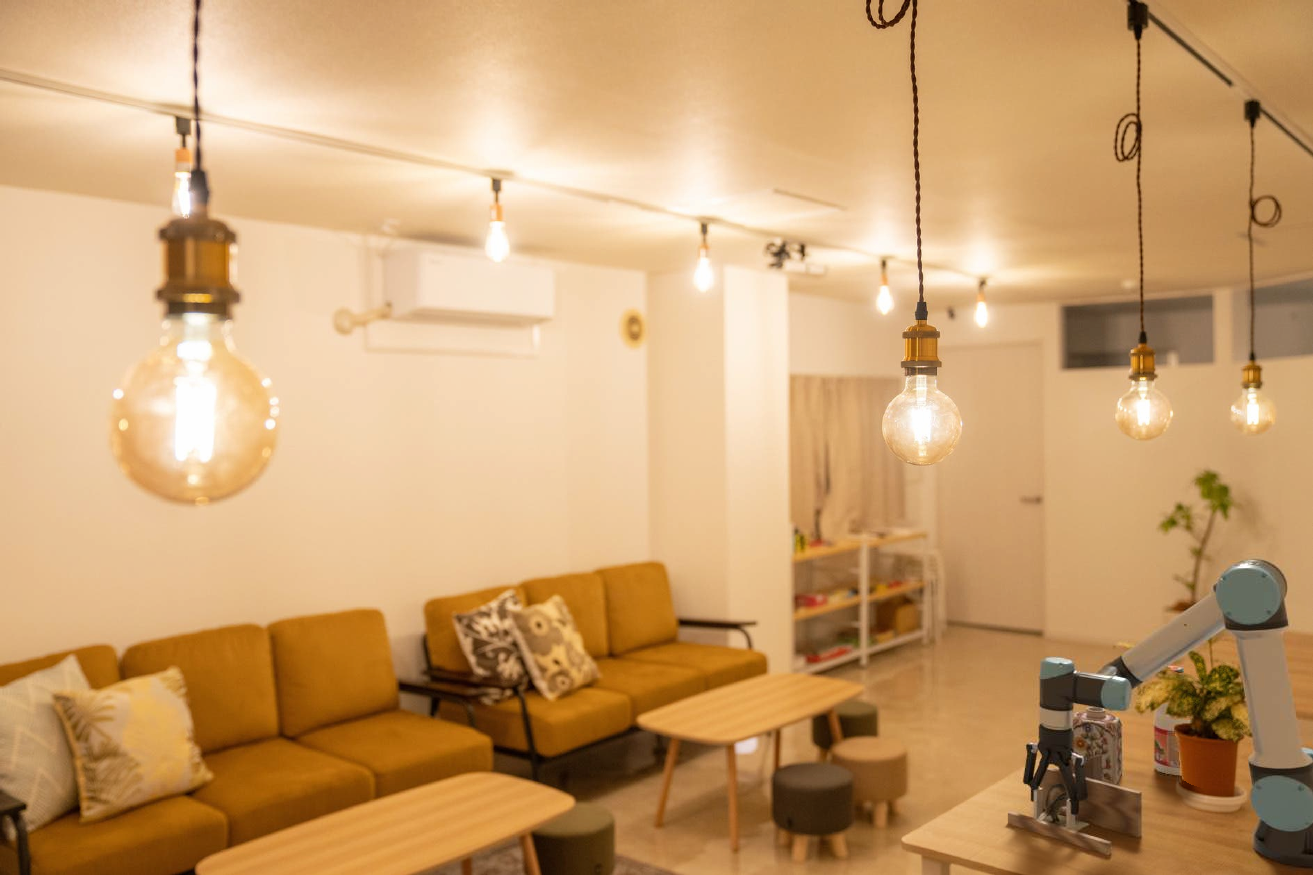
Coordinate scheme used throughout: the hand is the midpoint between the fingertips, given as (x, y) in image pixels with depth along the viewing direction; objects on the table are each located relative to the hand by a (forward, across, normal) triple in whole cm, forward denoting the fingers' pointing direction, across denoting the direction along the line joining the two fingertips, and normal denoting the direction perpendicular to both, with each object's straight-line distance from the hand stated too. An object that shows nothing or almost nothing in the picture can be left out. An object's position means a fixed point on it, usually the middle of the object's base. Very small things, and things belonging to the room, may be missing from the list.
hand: (1054, 821), depth 241 cm
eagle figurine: (-4, -1, -2) cm, 4 cm away
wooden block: (+1, +1, -14) cm, 14 cm away
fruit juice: (0, -3, -58) cm, 58 cm away
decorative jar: (+1, +9, -39) cm, 40 cm away
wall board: (0, -5, -1) cm, 5 cm away
